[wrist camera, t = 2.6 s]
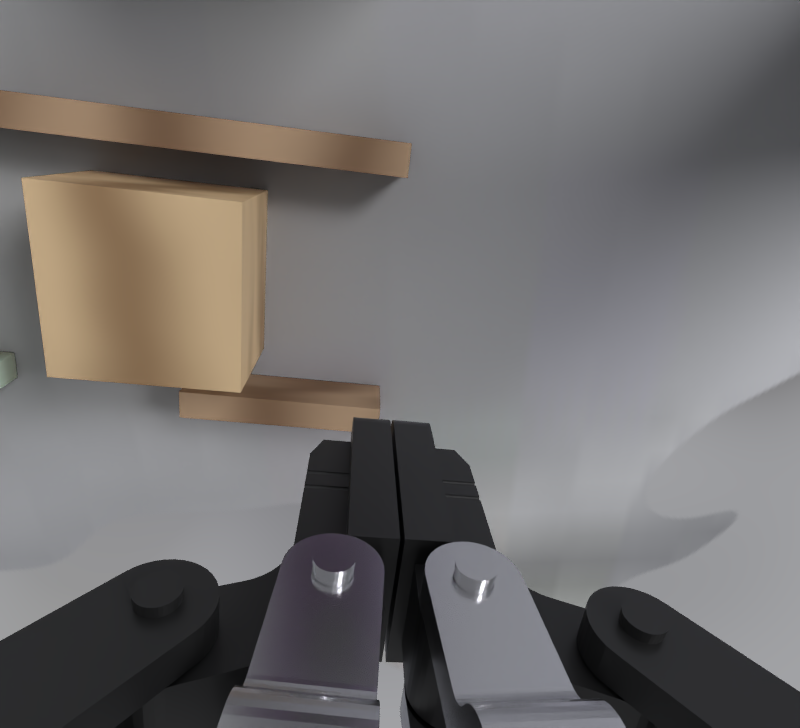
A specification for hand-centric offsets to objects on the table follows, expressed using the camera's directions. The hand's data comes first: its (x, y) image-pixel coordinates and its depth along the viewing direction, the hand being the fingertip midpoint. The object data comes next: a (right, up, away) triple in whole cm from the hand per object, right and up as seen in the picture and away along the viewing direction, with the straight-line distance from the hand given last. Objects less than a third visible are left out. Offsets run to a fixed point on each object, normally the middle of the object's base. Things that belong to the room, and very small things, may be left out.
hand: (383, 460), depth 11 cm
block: (-9, +6, +13) cm, 17 cm away
